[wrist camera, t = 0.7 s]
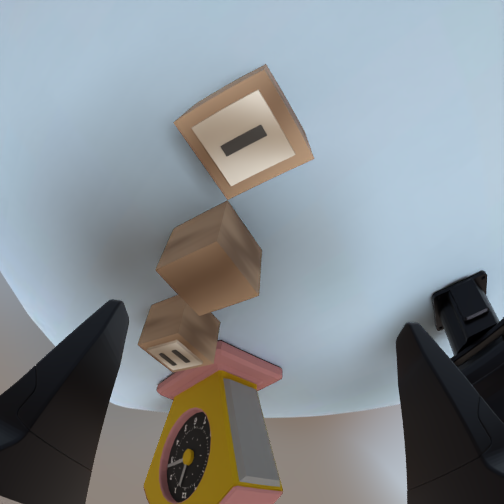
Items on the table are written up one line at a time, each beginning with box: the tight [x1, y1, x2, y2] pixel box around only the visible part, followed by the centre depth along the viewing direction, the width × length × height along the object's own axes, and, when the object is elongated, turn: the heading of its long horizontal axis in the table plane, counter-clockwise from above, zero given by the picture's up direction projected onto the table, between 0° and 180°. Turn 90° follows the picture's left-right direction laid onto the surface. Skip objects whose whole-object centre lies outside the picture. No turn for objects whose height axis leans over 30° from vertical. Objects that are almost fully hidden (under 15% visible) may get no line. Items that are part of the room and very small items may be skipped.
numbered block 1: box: [138, 295, 220, 372], centre depth 28 cm, size 5×5×5 cm
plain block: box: [156, 201, 262, 316], centre depth 22 cm, size 5×5×5 cm
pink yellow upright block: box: [144, 340, 283, 504], centre depth 29 cm, size 22×9×22 cm, turn 142°
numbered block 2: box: [174, 64, 314, 200], centre depth 16 cm, size 5×5×5 cm
